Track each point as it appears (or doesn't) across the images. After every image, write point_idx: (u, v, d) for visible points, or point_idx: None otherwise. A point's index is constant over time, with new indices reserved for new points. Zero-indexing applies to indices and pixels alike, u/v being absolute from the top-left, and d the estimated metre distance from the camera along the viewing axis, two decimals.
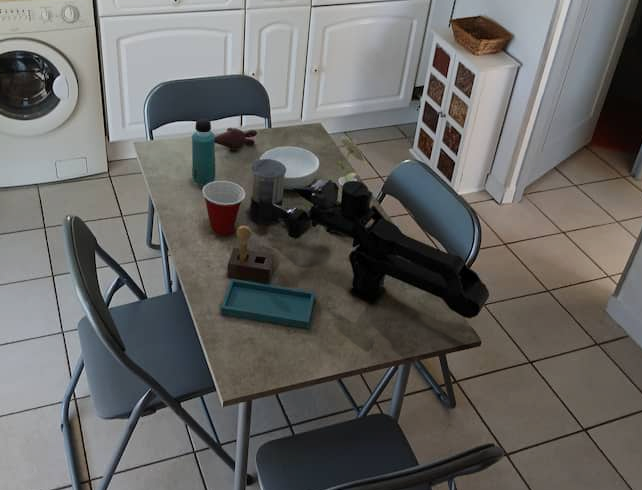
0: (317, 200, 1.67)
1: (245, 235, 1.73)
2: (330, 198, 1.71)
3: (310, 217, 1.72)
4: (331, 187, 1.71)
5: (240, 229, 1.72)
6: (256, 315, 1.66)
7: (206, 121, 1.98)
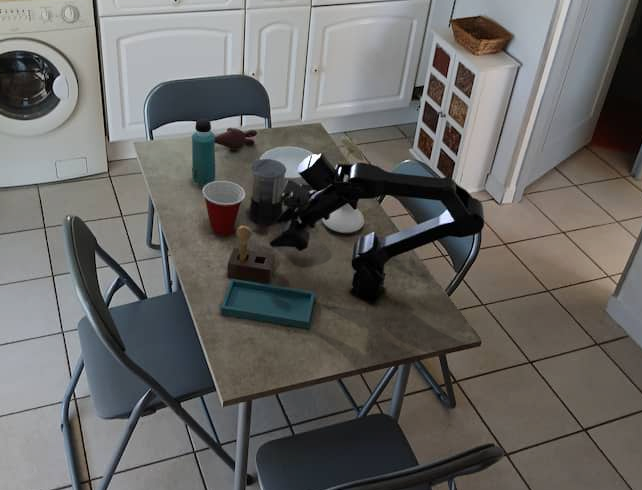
0: (291, 201, 1.61)
1: (245, 235, 1.73)
2: (302, 192, 1.65)
3: (303, 222, 1.65)
4: (294, 184, 1.65)
5: (240, 229, 1.72)
6: (256, 315, 1.66)
7: (206, 121, 1.98)
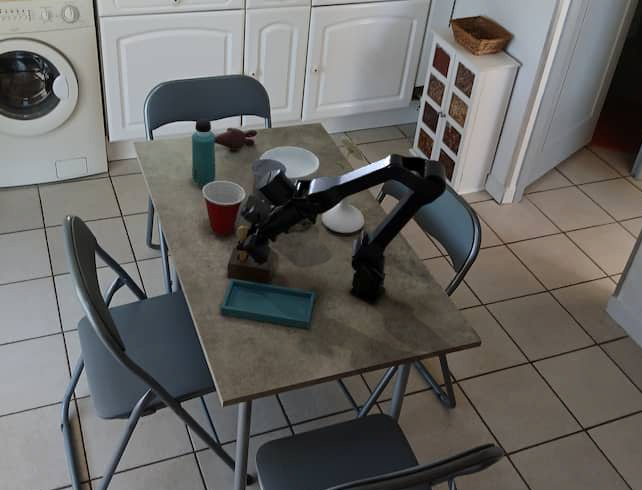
0: (251, 216, 1.65)
1: (245, 235, 1.73)
2: (262, 207, 1.69)
3: (264, 236, 1.69)
4: (255, 199, 1.69)
5: (240, 229, 1.72)
6: (256, 315, 1.66)
7: (206, 121, 1.98)
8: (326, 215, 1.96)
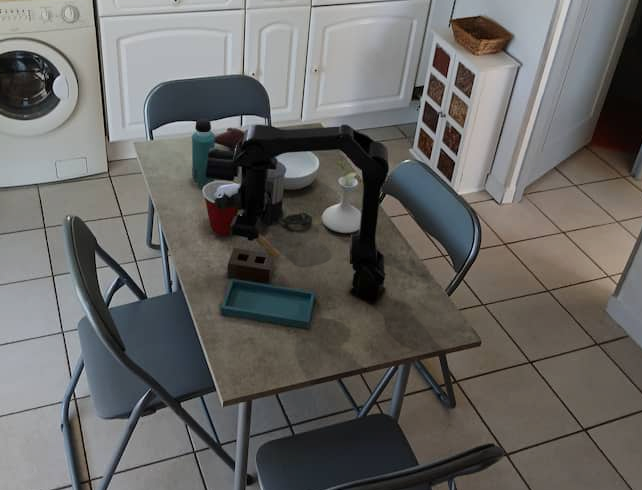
0: (221, 203, 1.61)
1: None
2: (232, 189, 1.63)
3: (250, 212, 1.62)
4: (224, 187, 1.65)
5: None
6: (256, 315, 1.66)
7: (206, 121, 1.98)
8: (326, 215, 1.96)
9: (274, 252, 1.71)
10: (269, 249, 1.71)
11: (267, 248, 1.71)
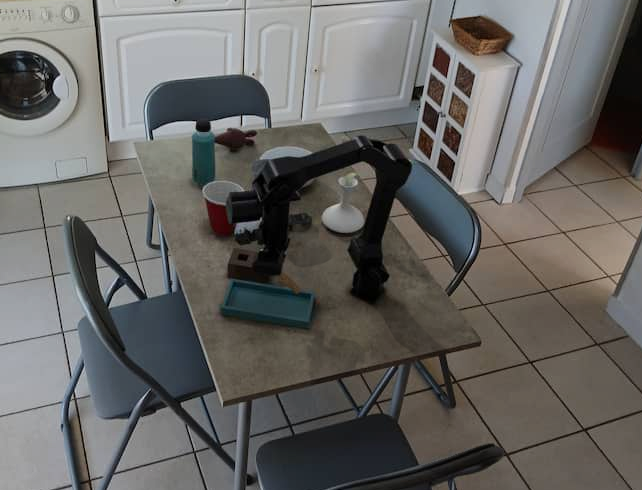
0: (242, 238, 1.55)
1: None
2: (253, 223, 1.58)
3: (271, 247, 1.57)
4: (244, 221, 1.60)
5: None
6: (256, 315, 1.66)
7: (206, 121, 1.98)
8: (326, 215, 1.96)
9: (296, 287, 1.66)
10: (291, 284, 1.66)
11: (288, 283, 1.65)
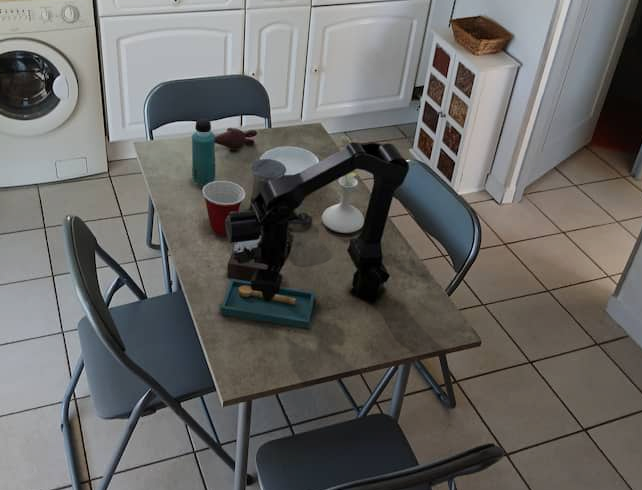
0: (241, 257, 1.58)
1: (248, 288, 1.73)
2: (252, 242, 1.61)
3: (270, 265, 1.60)
4: None
5: (240, 289, 1.72)
6: (256, 315, 1.66)
7: (206, 121, 1.98)
8: (326, 215, 1.96)
9: None
10: None
11: (281, 295, 1.72)
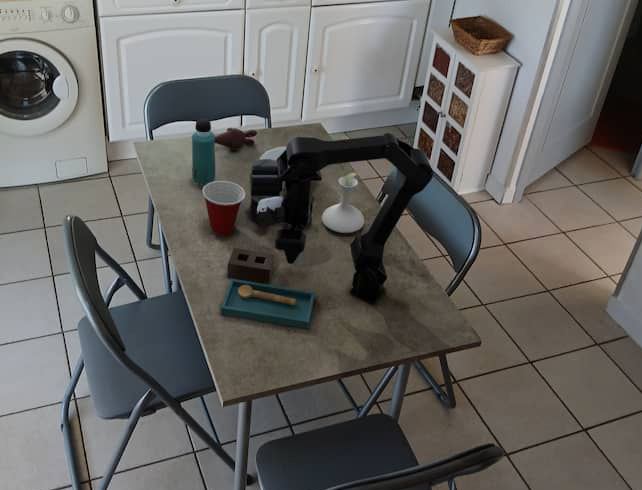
0: (264, 217, 1.58)
1: (247, 289, 1.72)
2: (275, 202, 1.61)
3: (293, 225, 1.60)
4: (266, 200, 1.63)
5: (239, 291, 1.72)
6: (256, 315, 1.66)
7: (206, 121, 1.98)
8: (326, 215, 1.96)
9: None
10: (283, 296, 1.71)
11: (281, 296, 1.71)
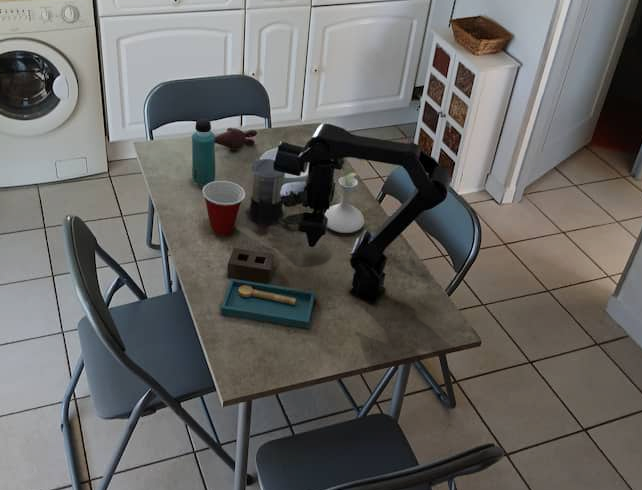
0: (288, 200, 1.64)
1: (248, 288, 1.73)
2: (298, 187, 1.66)
3: (315, 209, 1.65)
4: (289, 185, 1.68)
5: (240, 290, 1.72)
6: (256, 315, 1.66)
7: (206, 121, 1.98)
8: (326, 215, 1.96)
9: None
10: None
11: (281, 295, 1.71)
